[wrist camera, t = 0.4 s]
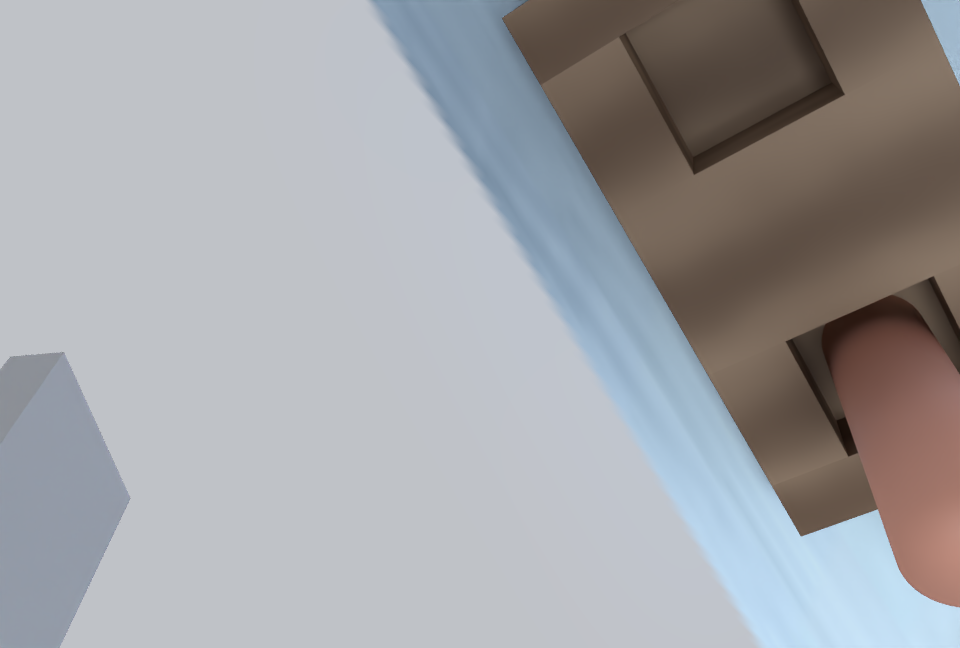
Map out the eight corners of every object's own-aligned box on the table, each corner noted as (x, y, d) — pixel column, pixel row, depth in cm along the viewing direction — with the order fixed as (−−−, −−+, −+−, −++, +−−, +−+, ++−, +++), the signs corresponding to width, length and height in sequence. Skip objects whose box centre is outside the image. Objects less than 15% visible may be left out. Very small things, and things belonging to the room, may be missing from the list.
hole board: (519, 10, 35) (501, 18, 32) (812, -182, 31) (830, -199, 27) (790, 484, 41) (801, 536, 37) (1071, 377, 37) (1114, 425, 33)
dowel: (830, 289, 36) (910, 474, 24) (936, 297, 35) (1077, 493, 23) (814, 378, 38) (881, 596, 25) (915, 388, 37) (1038, 618, 24)
